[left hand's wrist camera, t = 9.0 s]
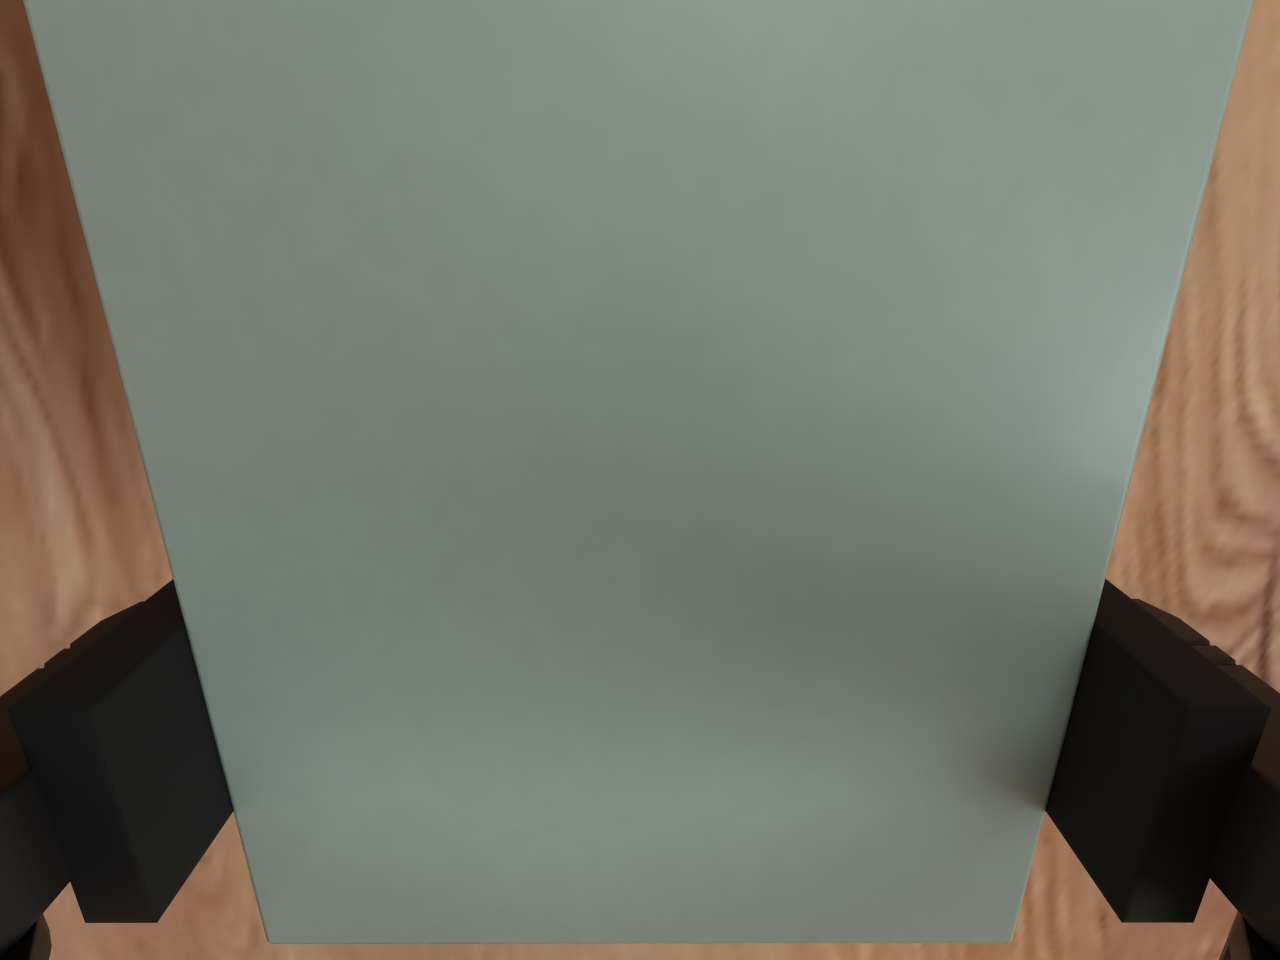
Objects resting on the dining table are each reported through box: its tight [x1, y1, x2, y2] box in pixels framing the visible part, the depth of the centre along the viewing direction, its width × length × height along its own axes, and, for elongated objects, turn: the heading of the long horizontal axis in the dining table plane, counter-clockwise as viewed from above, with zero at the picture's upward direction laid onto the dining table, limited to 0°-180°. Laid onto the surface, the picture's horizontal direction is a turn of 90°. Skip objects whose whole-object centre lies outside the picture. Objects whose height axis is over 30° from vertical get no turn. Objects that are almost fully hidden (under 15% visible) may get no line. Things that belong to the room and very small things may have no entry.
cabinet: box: [23, 0, 1254, 944], centre depth 12 cm, size 17×10×11 cm, turn 0°
